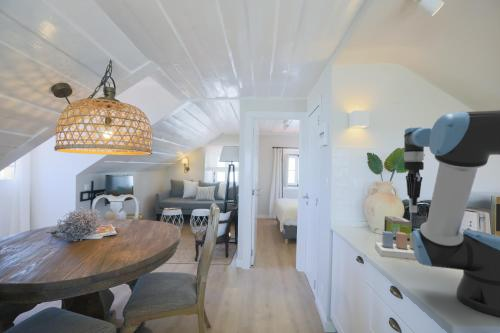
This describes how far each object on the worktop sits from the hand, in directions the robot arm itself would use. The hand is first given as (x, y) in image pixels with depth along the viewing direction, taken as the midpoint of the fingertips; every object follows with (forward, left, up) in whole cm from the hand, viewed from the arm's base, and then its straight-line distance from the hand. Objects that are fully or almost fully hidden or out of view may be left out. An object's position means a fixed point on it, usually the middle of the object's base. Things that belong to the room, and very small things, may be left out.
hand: (413, 212), depth 113 cm
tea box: (+36, -4, -25) cm, 44 cm away
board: (+15, 0, -24) cm, 29 cm away
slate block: (+15, +7, -21) cm, 27 cm away
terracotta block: (+15, 0, -21) cm, 26 cm away
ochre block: (+15, -6, -21) cm, 27 cm away
